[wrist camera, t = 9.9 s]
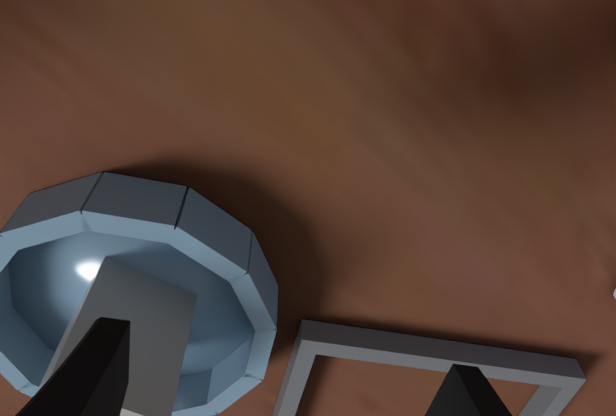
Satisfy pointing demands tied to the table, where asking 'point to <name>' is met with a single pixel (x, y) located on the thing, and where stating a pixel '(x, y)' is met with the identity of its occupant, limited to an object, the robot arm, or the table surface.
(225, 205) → the table surface
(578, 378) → the tray
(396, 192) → the table surface
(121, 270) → the stone block
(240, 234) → the bowl
